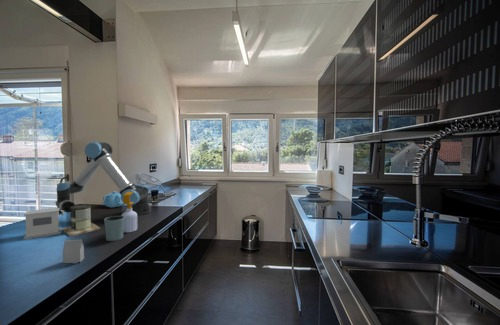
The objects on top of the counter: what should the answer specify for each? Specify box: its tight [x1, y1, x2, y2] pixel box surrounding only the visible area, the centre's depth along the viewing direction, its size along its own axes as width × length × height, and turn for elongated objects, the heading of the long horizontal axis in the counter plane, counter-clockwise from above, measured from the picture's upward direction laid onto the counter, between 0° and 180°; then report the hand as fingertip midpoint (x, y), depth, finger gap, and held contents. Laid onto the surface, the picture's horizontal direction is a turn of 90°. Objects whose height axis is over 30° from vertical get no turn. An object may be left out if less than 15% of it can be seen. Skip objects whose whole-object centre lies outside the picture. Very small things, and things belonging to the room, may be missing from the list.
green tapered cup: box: [103, 215, 124, 242], centre depth 133 cm, size 10×10×12 cm
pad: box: [61, 222, 101, 237], centre depth 146 cm, size 16×16×1 cm
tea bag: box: [62, 239, 85, 264], centre depth 105 cm, size 4×7×10 cm, turn 105°
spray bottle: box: [120, 192, 138, 233], centre depth 146 cm, size 9×9×25 cm
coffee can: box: [70, 203, 92, 231], centre depth 146 cm, size 10×10×14 cm
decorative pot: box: [102, 190, 125, 209], centre depth 206 cm, size 16×16×14 cm
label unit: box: [23, 207, 62, 241], centre depth 137 cm, size 16×10×14 cm, turn 127°
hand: (76, 211), depth 152 cm, fingers open, 13 cm apart
